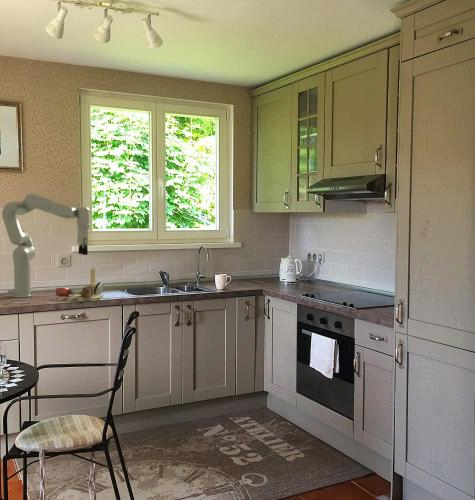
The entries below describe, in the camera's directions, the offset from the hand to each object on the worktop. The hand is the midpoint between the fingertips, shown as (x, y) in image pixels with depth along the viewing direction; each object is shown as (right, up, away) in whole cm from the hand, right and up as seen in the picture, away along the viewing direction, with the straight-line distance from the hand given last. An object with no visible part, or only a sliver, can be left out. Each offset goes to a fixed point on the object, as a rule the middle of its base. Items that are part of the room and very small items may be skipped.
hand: (83, 254), depth 353 cm
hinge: (+6, -27, +11) cm, 30 cm away
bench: (0, -28, -7) cm, 29 cm away
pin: (-4, -26, -8) cm, 27 cm away
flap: (+8, -19, -7) cm, 22 cm away
